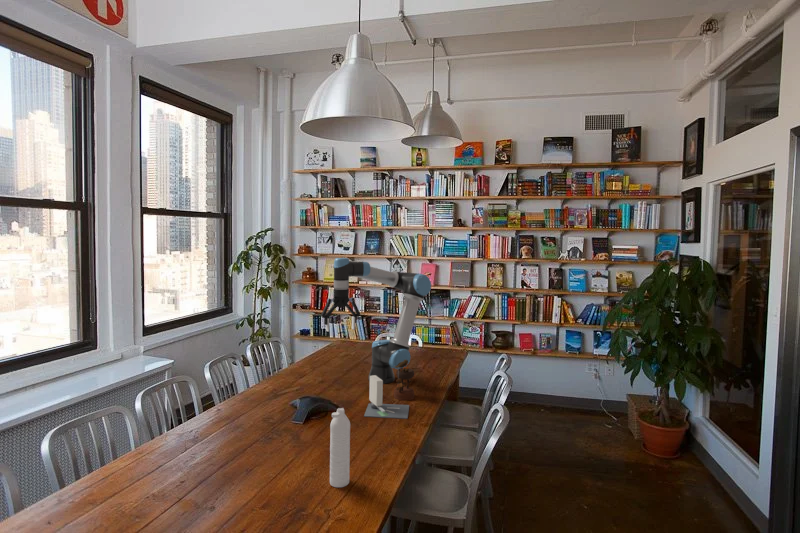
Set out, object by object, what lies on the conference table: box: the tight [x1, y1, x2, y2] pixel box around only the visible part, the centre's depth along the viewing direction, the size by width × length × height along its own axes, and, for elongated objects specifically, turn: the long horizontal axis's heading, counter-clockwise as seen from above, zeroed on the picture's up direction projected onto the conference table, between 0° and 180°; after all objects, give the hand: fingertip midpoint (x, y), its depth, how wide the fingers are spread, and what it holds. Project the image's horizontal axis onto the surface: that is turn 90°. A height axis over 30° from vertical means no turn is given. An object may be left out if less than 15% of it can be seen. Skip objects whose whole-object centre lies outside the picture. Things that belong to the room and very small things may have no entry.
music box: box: [393, 360, 415, 401], centre depth 231 cm, size 15×11×20 cm
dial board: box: [363, 402, 410, 420], centre depth 211 cm, size 16×20×1 cm
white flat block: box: [368, 375, 385, 413], centre depth 211 cm, size 4×14×14 cm, turn 26°
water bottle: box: [329, 407, 351, 488], centre depth 146 cm, size 9×6×25 cm
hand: (340, 330), depth 225 cm, fingers open, 13 cm apart
